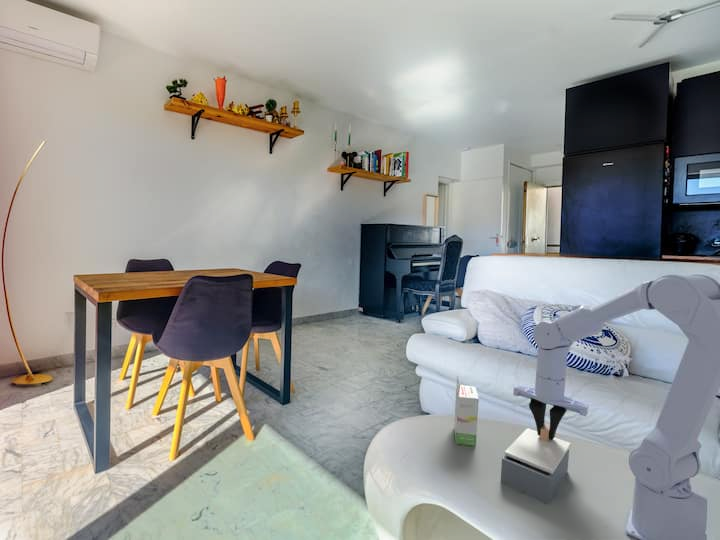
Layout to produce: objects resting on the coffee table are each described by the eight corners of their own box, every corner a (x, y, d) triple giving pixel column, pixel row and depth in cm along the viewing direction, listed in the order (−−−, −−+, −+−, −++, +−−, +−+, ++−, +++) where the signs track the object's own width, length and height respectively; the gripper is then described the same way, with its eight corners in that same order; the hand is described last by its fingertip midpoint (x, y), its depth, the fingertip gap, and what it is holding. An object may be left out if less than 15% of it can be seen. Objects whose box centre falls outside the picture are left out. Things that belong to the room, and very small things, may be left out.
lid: (570, 445, 79) (571, 431, 79) (552, 474, 69) (553, 458, 68) (527, 430, 85) (528, 417, 85) (504, 454, 75) (505, 439, 74)
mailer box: (567, 471, 78) (569, 449, 78) (548, 504, 68) (550, 478, 68) (523, 454, 84) (525, 433, 84) (500, 482, 74) (502, 458, 74)
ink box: (476, 447, 87) (480, 386, 86) (455, 444, 88) (458, 384, 87) (473, 429, 95) (476, 374, 94) (453, 427, 96) (456, 372, 95)
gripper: (592, 380, 78) (587, 441, 79) (522, 363, 88) (518, 418, 88) (585, 389, 73) (580, 454, 73) (511, 370, 82) (507, 428, 83)
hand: (546, 436), depth 81 cm, fingers closed on lid, 2 cm apart
